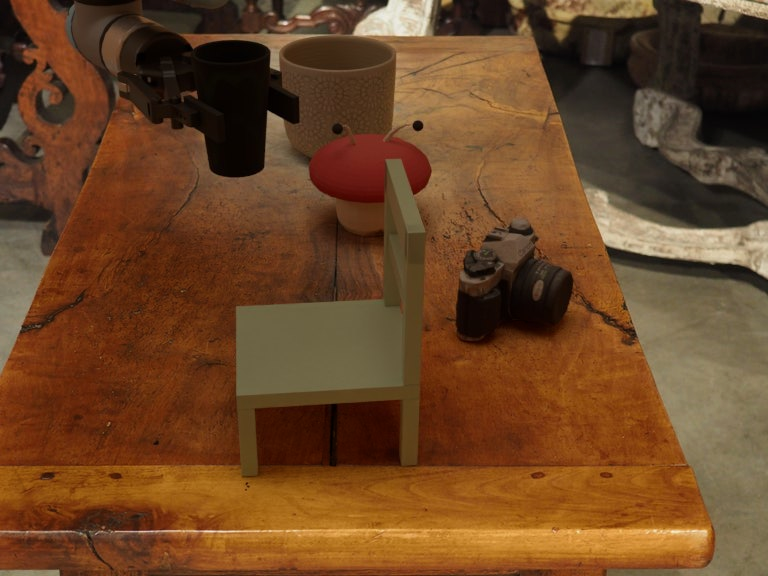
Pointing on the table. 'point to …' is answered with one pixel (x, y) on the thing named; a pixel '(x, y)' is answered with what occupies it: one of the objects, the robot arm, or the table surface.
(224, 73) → the cup
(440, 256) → the table surface
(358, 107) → the planter
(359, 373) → the chair
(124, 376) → the table surface
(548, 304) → the camera
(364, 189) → the mushroom
